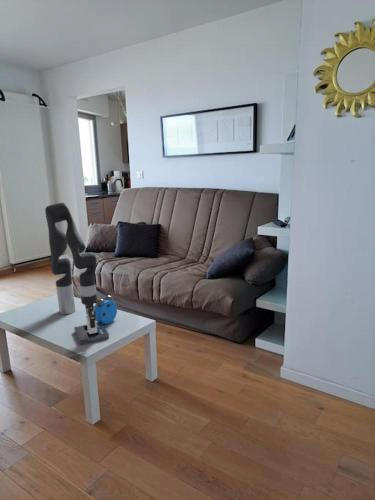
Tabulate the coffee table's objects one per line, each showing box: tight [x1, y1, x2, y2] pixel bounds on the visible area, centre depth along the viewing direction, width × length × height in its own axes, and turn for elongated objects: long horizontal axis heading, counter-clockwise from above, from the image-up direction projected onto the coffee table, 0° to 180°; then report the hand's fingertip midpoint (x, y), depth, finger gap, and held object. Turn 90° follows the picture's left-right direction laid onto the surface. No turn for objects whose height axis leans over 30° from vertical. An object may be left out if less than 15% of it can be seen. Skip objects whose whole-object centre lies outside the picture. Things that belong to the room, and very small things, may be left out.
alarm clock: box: [94, 295, 118, 325], centre depth 192 cm, size 13×6×15 cm, turn 147°
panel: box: [74, 321, 110, 346], centre depth 178 cm, size 17×14×3 cm
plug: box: [85, 315, 97, 334], centre depth 172 cm, size 4×4×9 cm
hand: (91, 325), depth 173 cm, fingers closed on plug, 4 cm apart
